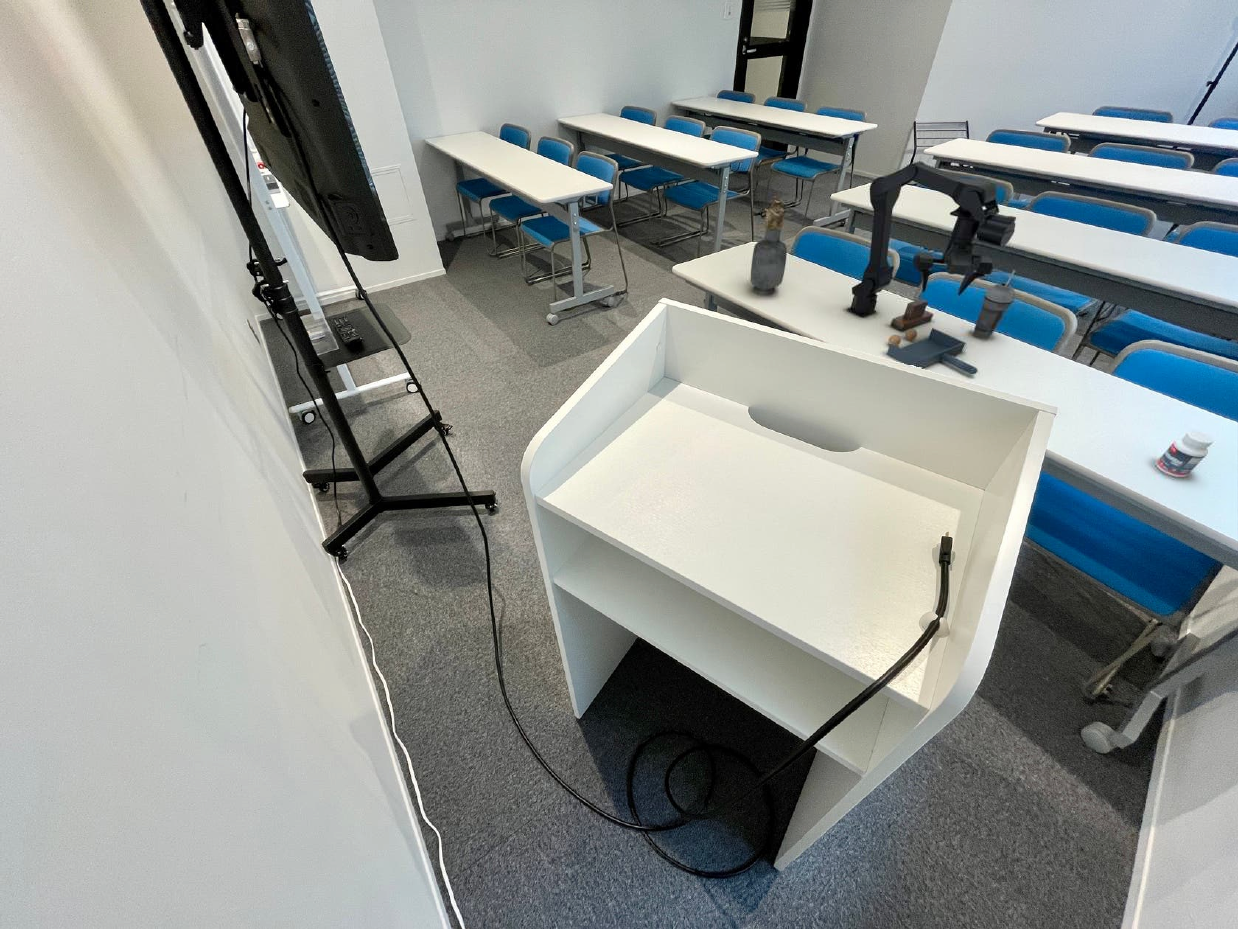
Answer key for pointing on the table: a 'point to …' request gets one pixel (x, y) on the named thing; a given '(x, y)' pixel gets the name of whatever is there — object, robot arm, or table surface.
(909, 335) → the brown rounded piece
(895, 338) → the light brown ball
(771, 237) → the grey tall bottle-shaped piece
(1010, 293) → the beverage cup
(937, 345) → the dustpan
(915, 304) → the brush
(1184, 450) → the pill bottle
